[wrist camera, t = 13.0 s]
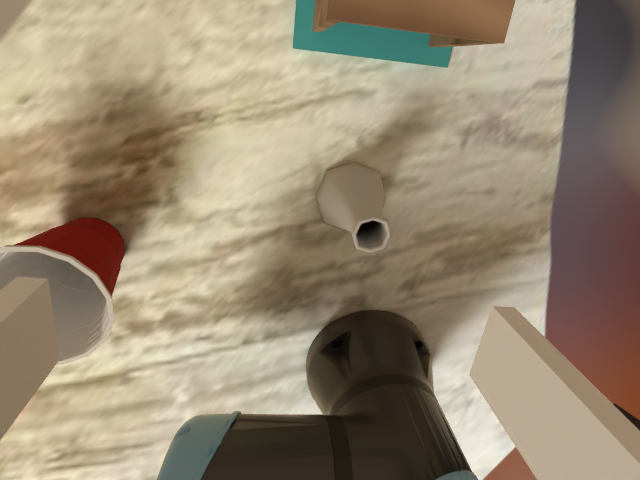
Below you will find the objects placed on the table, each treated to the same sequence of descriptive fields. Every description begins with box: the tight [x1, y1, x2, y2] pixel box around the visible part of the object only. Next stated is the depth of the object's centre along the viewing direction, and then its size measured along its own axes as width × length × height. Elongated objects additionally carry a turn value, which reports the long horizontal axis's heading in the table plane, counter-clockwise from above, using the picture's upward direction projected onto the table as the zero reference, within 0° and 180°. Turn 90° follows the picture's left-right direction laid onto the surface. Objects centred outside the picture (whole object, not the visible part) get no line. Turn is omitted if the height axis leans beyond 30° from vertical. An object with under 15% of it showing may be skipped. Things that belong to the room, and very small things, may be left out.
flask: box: [316, 162, 391, 253], centre depth 37 cm, size 7×7×10 cm
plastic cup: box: [0, 218, 124, 364], centre depth 35 cm, size 11×11×12 cm
